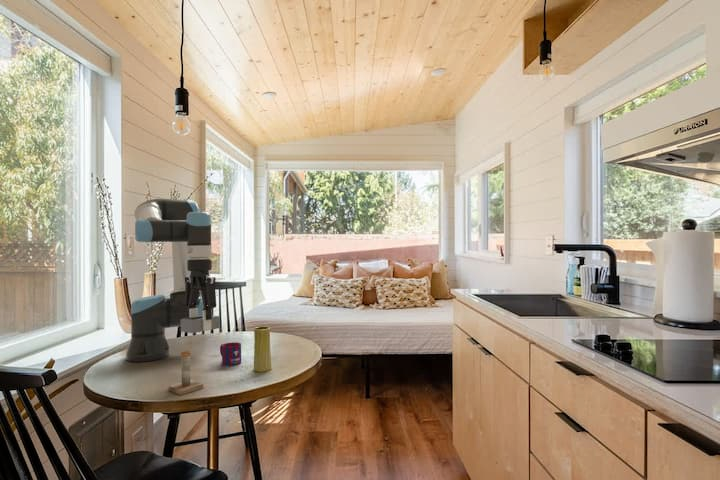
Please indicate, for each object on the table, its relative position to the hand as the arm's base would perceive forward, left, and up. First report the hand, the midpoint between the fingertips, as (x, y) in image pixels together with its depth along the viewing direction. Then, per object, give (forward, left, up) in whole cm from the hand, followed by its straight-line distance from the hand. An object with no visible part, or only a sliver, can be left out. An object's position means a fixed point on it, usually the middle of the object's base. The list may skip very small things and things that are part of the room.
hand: (200, 328), depth 136 cm
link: (0, 0, 0) cm, 0 cm away
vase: (+11, +16, -16) cm, 25 cm away
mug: (-6, +15, -16) cm, 23 cm away
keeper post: (+7, -10, -16) cm, 20 cm away
